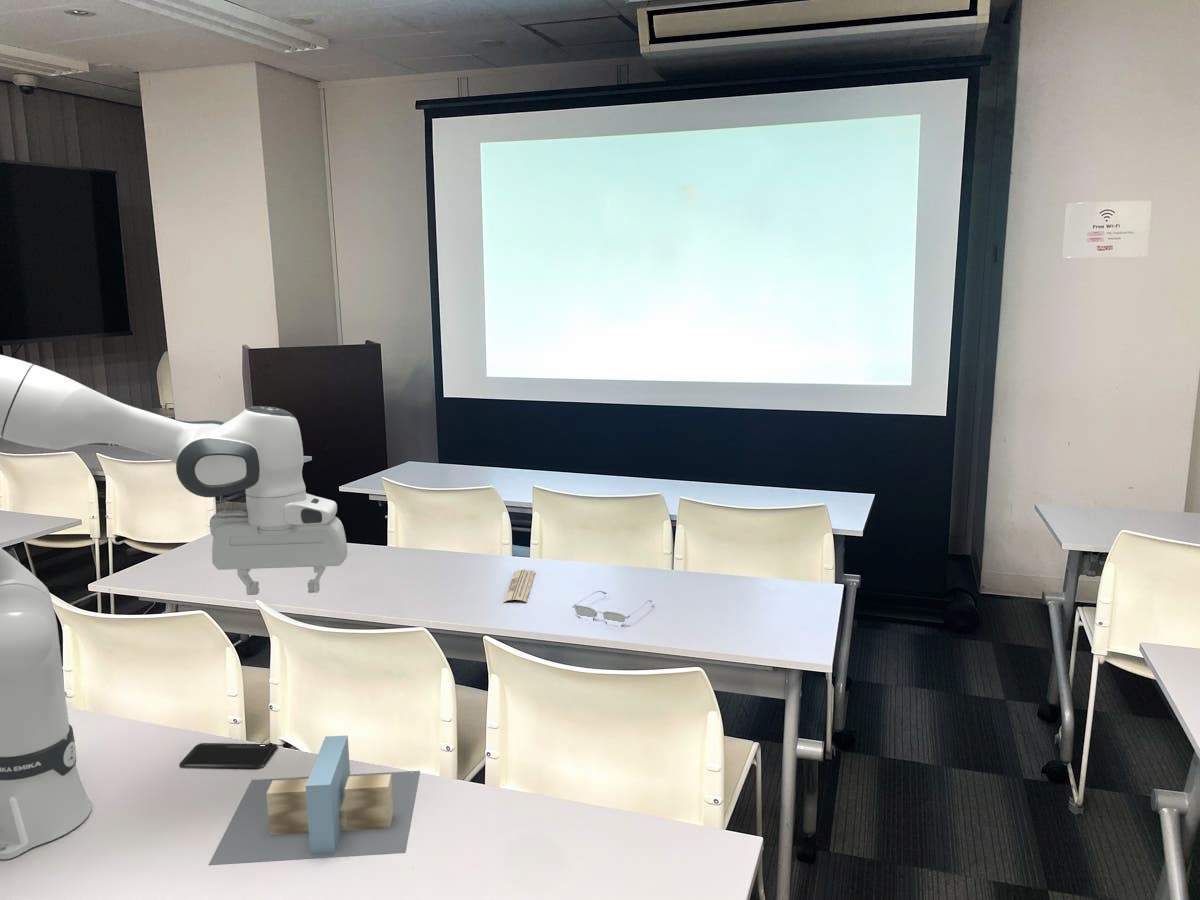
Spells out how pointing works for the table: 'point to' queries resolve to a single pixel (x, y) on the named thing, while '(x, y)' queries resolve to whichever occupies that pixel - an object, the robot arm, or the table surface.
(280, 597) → the table surface
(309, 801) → the blue plate
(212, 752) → the phone
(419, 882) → the table surface
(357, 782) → the beech rail
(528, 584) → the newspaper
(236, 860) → the mat
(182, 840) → the table surface
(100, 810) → the table surface
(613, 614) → the eyeglasses
